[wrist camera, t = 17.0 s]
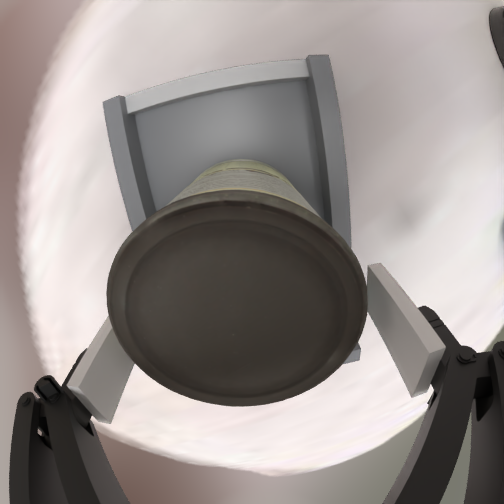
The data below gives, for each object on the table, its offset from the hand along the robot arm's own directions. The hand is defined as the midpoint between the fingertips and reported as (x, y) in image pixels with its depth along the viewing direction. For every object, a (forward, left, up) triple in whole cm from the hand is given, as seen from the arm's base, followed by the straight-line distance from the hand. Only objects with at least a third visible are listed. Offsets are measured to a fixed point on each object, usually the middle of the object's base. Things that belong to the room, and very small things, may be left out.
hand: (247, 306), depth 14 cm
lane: (0, -1, -11) cm, 11 cm away
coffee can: (0, -2, -10) cm, 10 cm away
